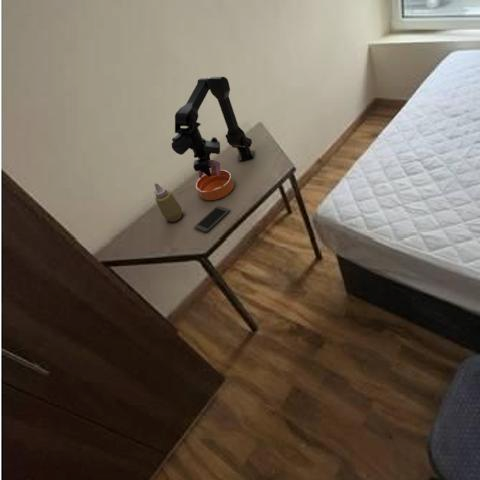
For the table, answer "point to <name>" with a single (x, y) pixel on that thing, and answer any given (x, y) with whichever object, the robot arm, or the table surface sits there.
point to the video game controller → (214, 169)
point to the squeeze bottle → (167, 204)
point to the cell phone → (211, 219)
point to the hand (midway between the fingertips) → (210, 171)
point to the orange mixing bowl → (215, 185)
